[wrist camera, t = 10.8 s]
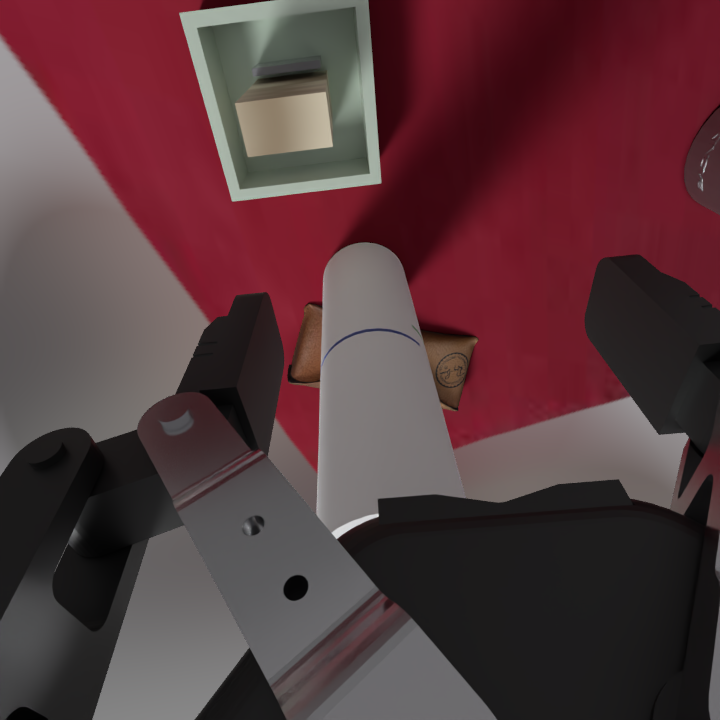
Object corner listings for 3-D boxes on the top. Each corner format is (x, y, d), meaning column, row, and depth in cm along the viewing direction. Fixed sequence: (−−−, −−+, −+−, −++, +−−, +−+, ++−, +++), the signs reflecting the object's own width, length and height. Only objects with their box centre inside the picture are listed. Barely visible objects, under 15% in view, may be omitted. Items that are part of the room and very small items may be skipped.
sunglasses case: (485, 334, 43) (486, 400, 41) (454, 359, 50) (454, 417, 47) (300, 299, 40) (290, 369, 38) (293, 331, 46) (283, 392, 44)
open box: (362, -10, 27) (367, -13, 23) (375, 164, 33) (381, 183, 30) (198, 11, 27) (179, 13, 24) (242, 180, 33) (232, 201, 30)
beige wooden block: (327, 70, 29) (325, 91, 22) (332, 113, 30) (333, 146, 23) (257, 78, 29) (234, 103, 22) (266, 121, 31) (247, 157, 23)
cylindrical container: (354, 226, 36) (381, 489, 16) (421, 271, 39) (512, 541, 19) (307, 290, 39) (284, 571, 20) (372, 327, 42) (407, 606, 23)
